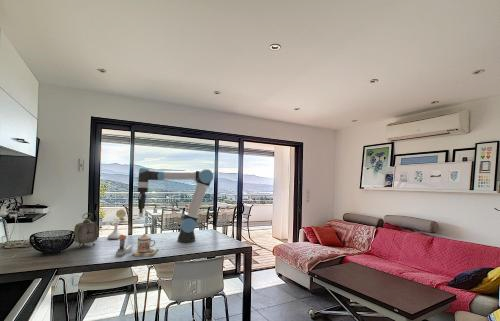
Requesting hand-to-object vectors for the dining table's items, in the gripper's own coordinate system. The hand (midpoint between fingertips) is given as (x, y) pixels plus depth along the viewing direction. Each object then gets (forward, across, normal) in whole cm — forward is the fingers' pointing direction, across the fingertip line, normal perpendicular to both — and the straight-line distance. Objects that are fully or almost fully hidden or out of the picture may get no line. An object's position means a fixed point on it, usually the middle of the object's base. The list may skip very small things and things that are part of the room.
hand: (140, 217), depth 207 cm
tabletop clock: (+23, +5, -38) cm, 44 cm away
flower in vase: (+23, -22, -26) cm, 41 cm away
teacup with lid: (+21, +19, +11) cm, 30 cm away
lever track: (+22, +19, -4) cm, 30 cm away
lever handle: (+19, +24, -4) cm, 31 cm away
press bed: (+22, +19, +11) cm, 31 cm away
